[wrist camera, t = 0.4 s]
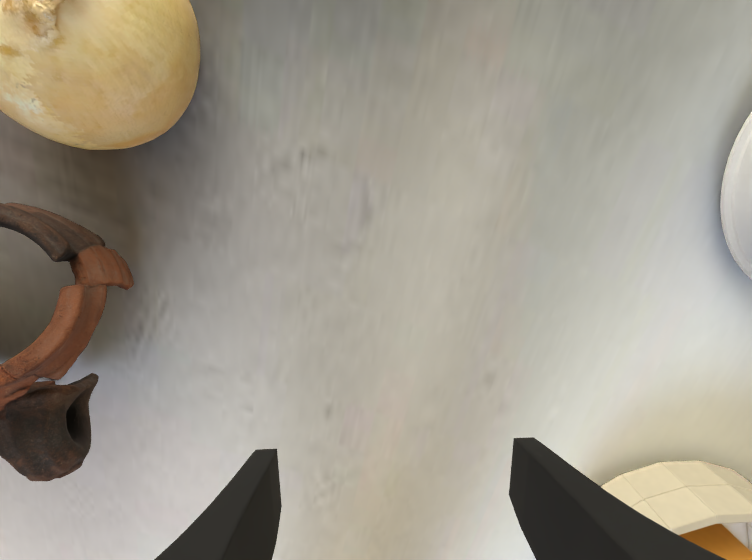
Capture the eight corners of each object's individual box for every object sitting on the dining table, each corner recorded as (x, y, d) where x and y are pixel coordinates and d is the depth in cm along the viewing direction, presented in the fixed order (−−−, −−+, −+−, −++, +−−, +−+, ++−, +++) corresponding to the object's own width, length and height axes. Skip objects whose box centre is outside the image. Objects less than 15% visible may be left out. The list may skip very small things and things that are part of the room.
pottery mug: (-96, 286, 20) (-295, 236, 12) (107, 213, 24) (49, 141, 16) (19, 499, 20) (-111, 581, 12) (205, 393, 24) (194, 406, 16)
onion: (195, 178, 19) (108, 180, 12) (17, 117, 18) (-188, 82, 11) (239, -3, 17) (165, -119, 10) (44, -82, 16) (-180, -269, 9)
